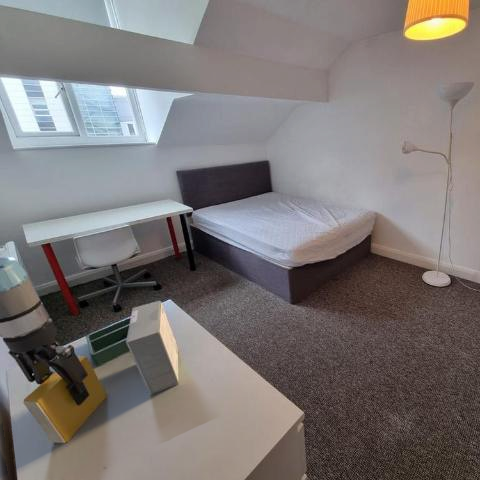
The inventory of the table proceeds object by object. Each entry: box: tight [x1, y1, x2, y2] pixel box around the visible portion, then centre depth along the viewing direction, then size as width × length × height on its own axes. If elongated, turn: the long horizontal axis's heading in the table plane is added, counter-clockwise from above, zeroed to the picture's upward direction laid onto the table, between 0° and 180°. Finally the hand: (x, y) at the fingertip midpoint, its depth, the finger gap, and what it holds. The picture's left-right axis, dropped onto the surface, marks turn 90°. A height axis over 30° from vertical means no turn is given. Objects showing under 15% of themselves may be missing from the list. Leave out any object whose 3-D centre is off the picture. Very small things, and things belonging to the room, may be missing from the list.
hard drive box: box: [126, 300, 180, 396], centre depth 78 cm, size 16×8×20 cm, turn 27°
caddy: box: [85, 316, 131, 368], centre depth 92 cm, size 12×16×5 cm
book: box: [22, 355, 108, 444], centre depth 66 cm, size 4×12×15 cm, turn 175°
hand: (71, 399), depth 67 cm, fingers open, 6 cm apart
